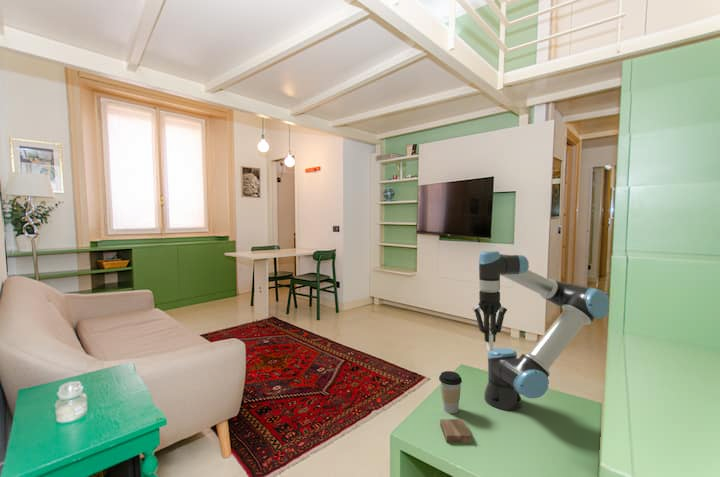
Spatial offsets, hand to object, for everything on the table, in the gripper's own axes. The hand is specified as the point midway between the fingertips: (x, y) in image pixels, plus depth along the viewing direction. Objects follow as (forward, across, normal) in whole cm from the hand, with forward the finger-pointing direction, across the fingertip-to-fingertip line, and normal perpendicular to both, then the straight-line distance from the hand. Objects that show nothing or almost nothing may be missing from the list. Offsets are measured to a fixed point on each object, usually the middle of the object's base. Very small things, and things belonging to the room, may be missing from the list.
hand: (490, 349), depth 126 cm
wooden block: (+28, +12, +6) cm, 31 cm away
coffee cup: (+30, +13, -10) cm, 34 cm away
